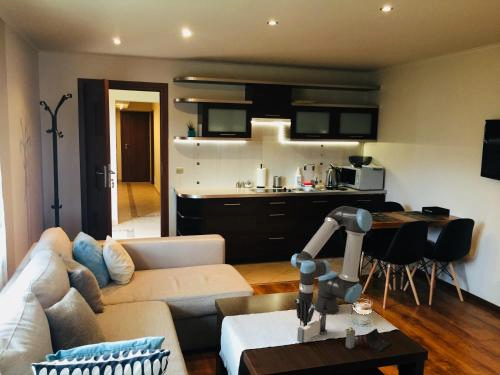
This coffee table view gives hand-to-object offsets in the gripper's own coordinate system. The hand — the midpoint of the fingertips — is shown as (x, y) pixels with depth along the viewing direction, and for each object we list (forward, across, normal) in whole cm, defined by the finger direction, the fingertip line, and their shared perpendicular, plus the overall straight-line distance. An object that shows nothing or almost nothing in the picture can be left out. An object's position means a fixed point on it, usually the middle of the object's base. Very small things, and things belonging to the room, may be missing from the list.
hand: (303, 332), depth 220 cm
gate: (+1, +4, 0) cm, 4 cm away
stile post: (+2, +22, +10) cm, 25 cm away
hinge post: (+2, +4, +12) cm, 12 cm away
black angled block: (+2, +31, +23) cm, 39 cm away
